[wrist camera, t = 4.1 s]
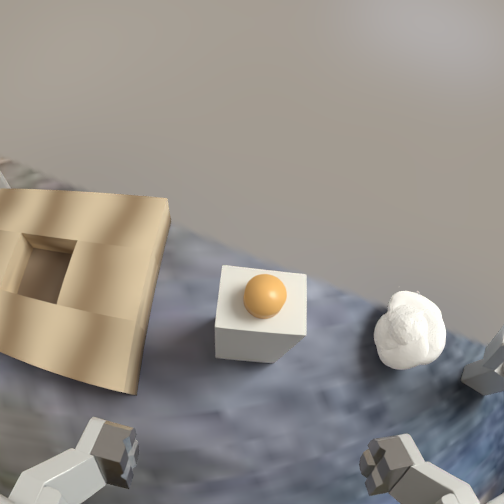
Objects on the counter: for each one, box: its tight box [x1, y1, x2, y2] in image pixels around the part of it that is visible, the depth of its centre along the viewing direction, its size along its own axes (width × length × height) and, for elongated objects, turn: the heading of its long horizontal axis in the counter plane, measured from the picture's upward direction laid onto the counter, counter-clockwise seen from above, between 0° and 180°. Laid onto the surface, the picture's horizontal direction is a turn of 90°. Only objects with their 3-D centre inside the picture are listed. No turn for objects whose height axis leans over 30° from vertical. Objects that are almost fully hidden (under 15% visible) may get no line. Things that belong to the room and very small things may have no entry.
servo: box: [215, 265, 307, 363], centre depth 17 cm, size 4×3×9 cm
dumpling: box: [374, 291, 446, 370], centre depth 20 cm, size 7×5×4 cm
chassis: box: [0, 188, 171, 395], centre depth 19 cm, size 18×14×3 cm
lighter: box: [461, 325, 504, 396], centre depth 17 cm, size 7×2×8 cm, turn 57°
